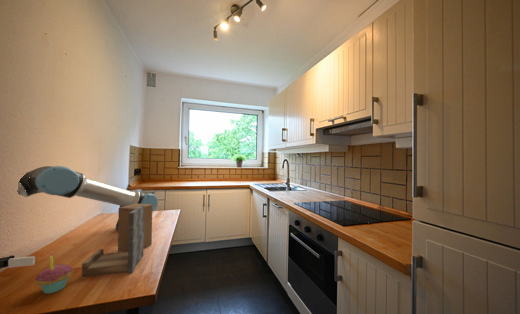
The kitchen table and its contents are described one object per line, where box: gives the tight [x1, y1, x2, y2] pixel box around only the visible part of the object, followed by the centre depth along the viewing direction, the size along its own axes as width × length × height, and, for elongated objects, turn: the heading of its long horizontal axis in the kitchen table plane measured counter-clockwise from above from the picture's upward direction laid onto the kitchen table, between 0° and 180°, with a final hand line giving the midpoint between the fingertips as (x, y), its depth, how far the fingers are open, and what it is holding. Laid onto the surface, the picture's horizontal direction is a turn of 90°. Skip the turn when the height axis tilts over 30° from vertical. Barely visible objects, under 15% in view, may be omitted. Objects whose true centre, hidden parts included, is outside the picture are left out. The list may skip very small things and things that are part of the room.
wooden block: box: [117, 204, 153, 252], centre depth 96 cm, size 10×10×20 cm
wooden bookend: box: [81, 205, 144, 279], centre depth 79 cm, size 14×16×22 cm
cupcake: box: [35, 253, 74, 295], centre depth 65 cm, size 9×8×12 cm
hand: (16, 271), depth 62 cm, fingers open, 13 cm apart
